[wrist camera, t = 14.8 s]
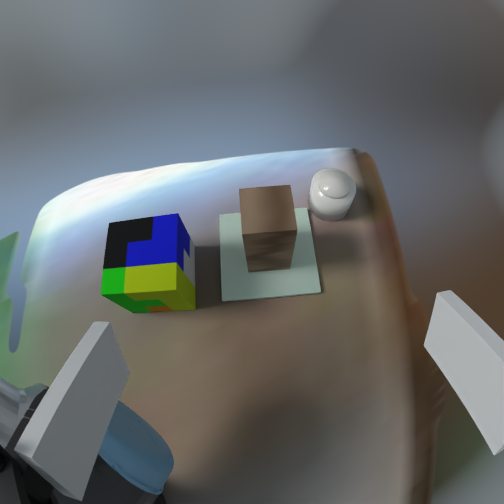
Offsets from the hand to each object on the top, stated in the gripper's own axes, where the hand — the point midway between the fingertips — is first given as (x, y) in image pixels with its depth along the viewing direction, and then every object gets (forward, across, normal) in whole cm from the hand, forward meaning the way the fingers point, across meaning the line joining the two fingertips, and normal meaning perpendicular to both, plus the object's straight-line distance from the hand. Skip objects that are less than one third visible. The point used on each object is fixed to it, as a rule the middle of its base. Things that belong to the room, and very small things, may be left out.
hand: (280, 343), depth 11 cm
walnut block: (+32, +1, -9) cm, 33 cm away
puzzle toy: (+31, -15, -12) cm, 36 cm away
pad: (+33, +1, -9) cm, 34 cm away
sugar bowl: (+38, +12, -4) cm, 40 cm away
